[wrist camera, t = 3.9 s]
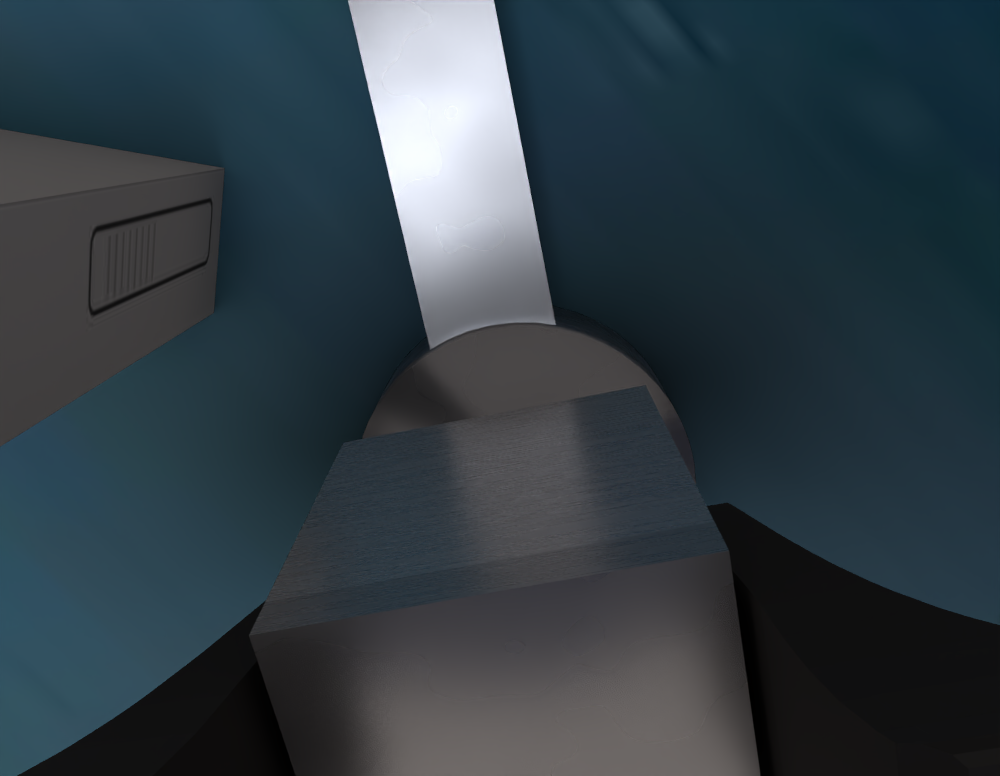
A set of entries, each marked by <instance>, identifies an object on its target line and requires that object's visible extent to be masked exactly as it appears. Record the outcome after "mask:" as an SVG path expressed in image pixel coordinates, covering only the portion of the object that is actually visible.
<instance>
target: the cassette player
mask: <svg viewBox="0 0 1000 776" xmlns="http://www.w3.org/2000/svg"><path fill="white" fill-rule="evenodd" d="M224 170H225V168H221V167H215V166H209V165H203V164H198V163H192V162H186V161H180V160H175V159H169V158H163V157H158V156H152V155H146V154H140V153H135V152H129V151H123V150H117V149H112V148H106V147H100V146H95V145H89V144H83V143H77V142H72V141H66V140H60V139H54V138H49V137H43V136H37V135H32V134H26V133H20V132H14V131H9V130H3V129H0V446H2V445H3V444H5V443H6V442H8V441H10V440H11V439H13V438H14V437H16V436H18V435H19V434H21V433H22V432H24V431H26V430H27V429H29V428H30V427H32V426H34V425H35V424H37V423H38V422H40V421H42V420H43V419H45V418H46V417H48V416H50V415H51V414H53V413H54V412H56V411H58V410H59V409H61V408H62V407H64V406H66V405H67V404H69V403H70V402H72V401H74V400H75V399H77V398H78V397H80V396H82V395H83V394H85V393H86V392H88V391H90V390H91V389H93V388H94V387H96V386H98V385H99V384H101V383H102V382H104V381H106V380H107V379H109V378H110V377H112V376H114V375H115V374H117V373H118V372H120V371H122V370H123V369H125V368H126V367H128V366H129V365H131V364H133V363H134V362H136V361H137V360H139V359H141V358H142V357H144V356H145V355H147V354H149V353H150V352H152V351H153V350H155V349H157V348H158V347H160V346H161V345H163V344H165V343H166V342H168V341H169V340H171V339H173V338H174V337H176V336H177V335H179V334H181V333H182V332H184V331H185V330H187V329H189V328H190V327H192V326H193V325H195V324H197V323H198V322H200V321H201V320H203V319H205V318H206V317H208V316H209V315H211V314H213V313H214V303H215V290H216V277H217V263H218V250H219V237H220V223H221V210H222V197H223V183H224Z"/></svg>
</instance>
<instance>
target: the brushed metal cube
mask: <svg viewBox="0 0 1000 776" xmlns="http://www.w3.org/2000/svg"><path fill="white" fill-rule="evenodd" d="M249 637H250V640H251V643H252V646H253V649H254V652H255V655H256V658H257V661H258V664H259V667H260V670H261V673H262V676H263V679H264V682H265V685H266V688H267V691H268V694H269V697H270V700H271V703H272V706H273V709H274V712H275V715H276V718H277V721H278V724H279V727H280V730H281V733H282V736H283V739H284V742H285V745H286V748H287V751H288V754H289V757H290V760H291V763H292V766H293V769H294V772H295V775H296V776H760V768H759V761H758V754H757V747H756V740H755V733H754V725H753V718H752V711H751V704H750V697H749V690H748V682H747V675H746V668H745V661H744V654H743V647H742V640H741V632H740V625H739V618H738V611H737V604H736V597H735V589H734V582H733V575H732V568H731V561H730V554H729V550H728V548H727V546H726V544H725V542H724V540H723V538H722V536H721V534H720V532H719V530H718V528H717V526H716V524H715V522H714V520H713V518H712V516H711V514H710V512H709V510H708V508H707V506H706V504H705V502H704V500H703V498H702V496H701V494H700V492H699V490H698V488H697V486H696V484H695V482H694V480H693V478H692V476H691V474H690V472H689V470H688V468H687V466H686V464H685V462H684V460H683V459H682V457H681V455H680V453H679V451H678V449H677V447H676V445H675V443H674V441H673V439H672V437H671V435H670V433H669V431H668V429H667V427H666V425H665V423H664V421H663V419H662V417H661V415H660V413H659V411H658V409H657V407H656V405H655V403H654V401H653V399H652V397H651V395H650V393H649V391H648V389H647V387H646V385H644V386H638V387H633V388H628V389H622V390H617V391H612V392H607V393H601V394H596V395H591V396H586V397H580V398H575V399H570V400H565V401H559V402H554V403H549V404H544V405H538V406H533V407H528V408H523V409H517V410H512V411H507V412H502V413H496V414H491V415H486V416H481V417H475V418H470V419H465V420H460V421H454V422H449V423H444V424H439V425H433V426H428V427H423V428H418V429H412V430H407V431H402V432H397V433H391V434H386V435H381V436H376V437H370V438H365V439H360V440H355V441H349V442H344V443H343V444H342V447H341V449H340V451H339V453H338V455H337V457H336V459H335V461H334V463H333V465H332V467H331V469H330V471H329V473H328V475H327V477H326V479H325V481H324V483H323V485H322V487H321V489H320V491H319V493H318V495H317V498H316V500H315V502H314V504H313V506H312V508H311V510H310V512H309V514H308V516H307V518H306V520H305V522H304V524H303V526H302V528H301V530H300V532H299V534H298V536H297V538H296V540H295V542H294V544H293V547H292V549H291V551H290V553H289V555H288V557H287V559H286V561H285V563H284V565H283V567H282V569H281V571H280V573H279V575H278V577H277V579H276V581H275V583H274V585H273V587H272V589H271V591H270V593H269V596H268V598H267V600H266V602H265V604H264V606H263V608H262V610H261V612H260V614H259V616H258V618H257V620H256V622H255V624H254V626H253V628H252V630H251V632H250V634H249Z"/></svg>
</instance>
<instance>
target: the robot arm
mask: <svg viewBox="0 0 1000 776" xmlns="http://www.w3.org/2000/svg"><path fill="white" fill-rule="evenodd" d="M707 508H708V510H709V512H710V514H711V516H712V518H713V520H714V522H715V524H716V526H717V528H718V530H719V532H720V534H721V536H722V538H723V540H724V542H725V544H726V546H727V548H728V550H729V554H730V561H731V568H732V575H733V582H734V589H735V597H736V604H737V611H738V618H739V625H740V632H741V640H742V647H743V654H744V661H745V668H746V675H747V682H748V690H749V697H750V704H751V711H752V718H753V725H754V733H755V740H756V747H757V754H758V761H759V768H760V776H1000V625H997V624H993V623H989V622H986V621H982V620H978V619H974V618H970V617H967V616H964V615H960V614H957V613H954V612H951V611H947V610H944V609H941V608H938V607H935V606H932V605H930V604H927V603H924V602H922V601H919V600H916V599H913V598H911V597H908V596H905V595H902V594H900V593H897V592H894V591H892V590H889V589H887V588H884V587H882V586H880V585H877V584H875V583H872V582H870V581H868V580H866V579H864V578H862V577H859V576H857V575H855V574H853V573H851V572H849V571H847V570H845V569H843V568H840V567H838V566H836V565H834V564H832V563H830V562H828V561H826V560H824V559H823V558H821V557H819V556H817V555H815V554H813V553H811V552H809V551H808V550H806V549H804V548H802V547H800V546H799V545H797V544H795V543H793V542H792V541H790V540H788V539H786V538H785V537H783V536H781V535H780V534H778V533H776V532H775V531H773V530H771V529H770V528H768V527H767V526H765V525H763V524H762V523H760V522H758V521H757V520H755V519H754V518H752V517H750V516H749V515H747V514H746V513H744V512H742V511H741V510H739V509H738V508H736V507H734V506H733V505H731V504H729V503H723V504H717V505H711V506H707ZM265 602H266V601H265ZM265 602H264V603H262V604H261V605H260V606H259V607H257V608H256V609H255V610H254V611H253V612H251V613H250V614H249V615H248V616H246V617H245V618H244V619H243V620H242V621H240V622H239V623H238V624H237V625H236V626H234V627H233V628H232V629H231V630H229V631H228V632H227V633H226V634H225V635H223V636H222V637H221V638H220V639H219V640H217V641H216V642H215V643H214V644H212V645H211V646H210V647H209V648H208V649H206V650H205V651H204V652H203V653H201V654H200V655H199V656H198V657H196V658H195V659H194V660H192V661H191V662H190V663H188V664H187V665H186V666H184V667H183V668H182V669H181V670H179V671H178V672H177V673H175V674H174V675H173V676H171V677H170V678H169V679H167V680H166V681H165V682H163V683H162V684H161V685H160V686H158V687H157V688H156V689H154V690H153V691H152V692H150V693H149V694H148V695H146V696H145V697H144V698H142V699H141V700H139V701H138V702H137V703H135V704H134V705H132V706H131V707H130V708H128V709H127V710H125V711H124V712H122V713H121V714H119V715H118V716H116V717H115V718H113V719H112V720H110V721H109V722H107V723H106V724H104V725H103V726H101V727H99V728H98V729H96V730H95V731H93V732H92V733H90V734H88V735H87V736H85V737H84V738H82V739H81V740H79V741H77V742H76V743H74V744H73V745H71V746H69V747H68V748H66V749H64V750H63V751H61V752H59V753H58V754H56V755H54V756H52V757H50V758H49V759H47V760H45V761H43V762H41V763H39V764H38V765H36V766H34V767H32V768H30V769H29V770H27V771H25V772H23V773H21V774H19V775H18V776H296V775H295V772H294V769H293V766H292V763H291V760H290V757H289V754H288V751H287V748H286V745H285V742H284V739H283V736H282V733H281V730H280V727H279V724H278V721H277V718H276V715H275V712H274V709H273V706H272V703H271V700H270V697H269V694H268V691H267V688H266V685H265V682H264V679H263V676H262V673H261V670H260V667H259V664H258V661H257V658H256V655H255V652H254V649H253V646H252V643H251V640H250V637H249V634H250V632H251V630H252V628H253V626H254V624H255V622H256V620H257V618H258V616H259V614H260V612H261V610H262V608H263V606H264V604H265Z"/></svg>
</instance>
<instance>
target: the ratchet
mask: <svg viewBox="0 0 1000 776" xmlns="http://www.w3.org/2000/svg"><path fill="white" fill-rule="evenodd" d="M348 2H349V7H350V11H351V15H352V19H353V24H354V28H355V32H356V36H357V41H358V45H359V49H360V53H361V58H362V62H363V66H364V70H365V75H366V79H367V83H368V87H369V92H370V96H371V100H372V104H373V109H374V113H375V117H376V121H377V126H378V130H379V134H380V138H381V143H382V147H383V151H384V155H385V160H386V164H387V168H388V172H389V177H390V181H391V185H392V189H393V194H394V198H395V202H396V206H397V211H398V215H399V219H400V223H401V228H402V232H403V236H404V240H405V245H406V249H407V253H408V257H409V262H410V266H411V270H412V274H413V279H414V283H415V287H416V291H417V296H418V300H419V304H420V308H421V313H422V317H423V321H424V325H425V330H426V334H427V337H426V338H425V339H424V340H422V341H421V342H420V343H419V344H418V345H417V346H416V347H415V348H414V349H413V350H412V351H411V352H410V353H409V354H408V355H407V356H406V357H405V358H404V360H403V361H402V362H401V364H400V365H399V366H398V368H397V369H396V370H395V372H394V373H393V375H392V377H391V379H390V380H389V382H388V384H387V386H386V388H385V390H384V392H383V394H382V396H381V398H380V400H379V402H378V404H377V406H376V408H375V410H374V412H373V414H372V416H371V418H370V420H369V422H368V424H367V427H366V429H365V432H364V434H363V437H362V439H365V438H370V437H376V436H381V435H386V434H391V433H397V432H402V431H407V430H412V429H418V428H423V427H428V426H433V425H439V424H444V423H449V422H454V421H460V420H465V419H470V418H475V417H481V416H486V415H491V414H496V413H502V412H507V411H512V410H517V409H523V408H528V407H533V406H538V405H544V404H549V403H554V402H559V401H565V400H570V399H575V398H580V397H586V396H591V395H596V394H601V393H607V392H612V391H617V390H622V389H628V388H633V387H638V386H644V385H646V387H647V389H648V391H649V393H650V395H651V397H652V399H653V401H654V403H655V405H656V407H657V409H658V411H659V413H660V415H661V417H662V419H663V421H664V423H665V425H666V427H667V429H668V431H669V433H670V435H671V437H672V439H673V441H674V443H675V445H676V447H677V449H678V451H679V453H680V455H681V457H682V459H683V460H684V462H685V464H686V466H687V468H688V470H689V472H690V474H691V476H692V478H693V480H694V482H695V484H696V479H695V466H694V460H693V455H692V451H691V447H690V442H689V440H688V437H687V435H686V432H685V429H684V427H683V424H682V422H681V420H680V418H679V416H678V414H677V413H676V411H675V409H674V407H673V405H672V403H671V402H670V400H669V398H668V396H667V394H666V392H665V391H664V389H663V387H662V385H661V383H660V382H659V380H658V378H657V376H656V374H655V373H654V371H653V370H652V368H651V367H650V366H649V364H648V363H647V362H646V360H645V359H644V358H643V357H642V355H641V354H640V353H639V352H638V351H637V350H636V349H635V348H634V347H633V346H632V345H631V344H630V343H629V342H627V341H626V340H625V339H623V338H622V337H621V336H619V335H618V334H617V333H616V332H614V331H613V330H611V329H610V328H608V327H606V326H604V325H603V324H601V323H599V322H597V321H596V320H594V319H591V318H589V317H586V316H584V315H581V314H579V313H577V312H573V311H570V310H566V309H562V308H558V307H554V306H552V301H551V296H550V291H549V286H548V281H547V275H546V270H545V265H544V260H543V254H542V249H541V244H540V239H539V234H538V228H537V223H536V218H535V213H534V207H533V202H532V197H531V192H530V186H529V181H528V176H527V171H526V166H525V160H524V155H523V150H522V145H521V139H520V134H519V129H518V124H517V118H516V113H515V108H514V103H513V98H512V92H511V87H510V82H509V77H508V71H507V66H506V61H505V56H504V50H503V45H502V40H501V35H500V30H499V24H498V19H497V14H496V9H495V3H494V0H348Z"/></svg>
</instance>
